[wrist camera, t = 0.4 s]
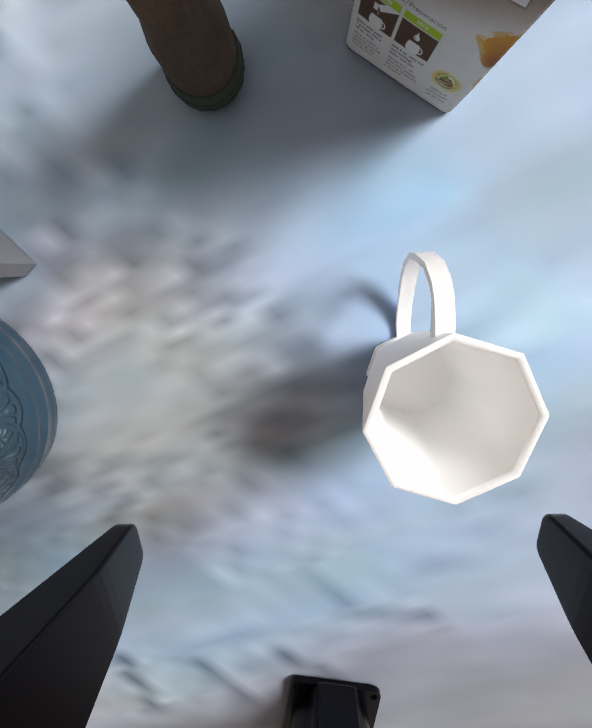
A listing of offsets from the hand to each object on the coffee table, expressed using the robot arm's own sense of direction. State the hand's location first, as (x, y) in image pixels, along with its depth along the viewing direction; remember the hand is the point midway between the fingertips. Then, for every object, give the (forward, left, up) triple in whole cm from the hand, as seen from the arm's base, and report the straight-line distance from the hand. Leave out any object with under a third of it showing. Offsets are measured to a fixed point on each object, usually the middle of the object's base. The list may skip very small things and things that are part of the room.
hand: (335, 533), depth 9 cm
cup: (+2, -5, -15) cm, 16 cm away
